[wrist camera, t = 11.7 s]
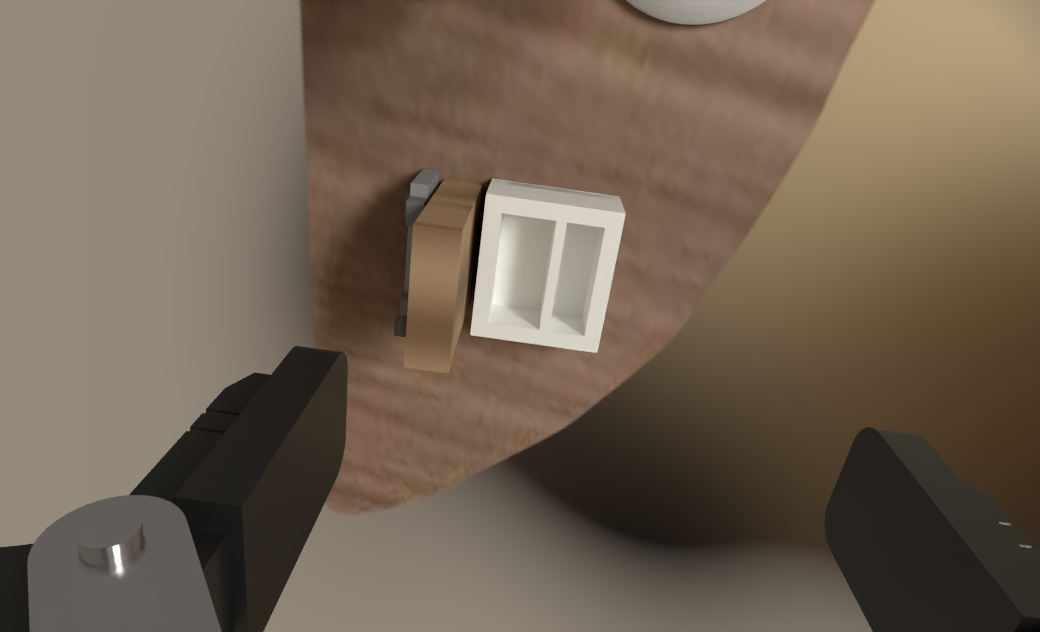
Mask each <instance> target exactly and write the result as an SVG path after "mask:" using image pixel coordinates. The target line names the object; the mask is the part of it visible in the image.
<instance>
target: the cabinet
mask: <svg viewBox="0 0 1040 632" xmlns="http://www.w3.org/2000/svg"><path fill="white" fill-rule="evenodd" d="M439 172H440V171H438V170H431V169H423V170H422V171H421V172H420V173H419V174H418V175H417V177H416V178H415V179H414V180H413V181H412V182H411V188H410V196H409V198H408V199H407V200H406V215H405V226H408V235H407V250H406V266H405V282H404V293H403V295H402V296H401V298H400V312H399V315H405V316H407V310H408V295H409V280H410V264H411V249H412V234H413V224H414V222H415V221H416V219H417V218H418V217H419V215H420V214H421V212H422V211H423V209H424V208H425V207H426V205H427V204H428V202H429V201H430V199H431V198H432V196H433V195H434V194H435V192H436V191H437V189H438V184H439ZM625 214H626V213H625V210H624V208H623V205H622V202H621V199H620V197H619V196H613V195H606V194H599V193H592V192H585V191H578V190H571V189H564V188H557V187H550V186H543V185H536V184H529V183H522V182H515V181H508V180H501V179H494V178H492V180H491V183H490V185H489V188H488V190H487V193H486V199H485V208H484V217H483V226H482V235H481V243H480V252H479V261H478V270H477V279H476V288H475V297H474V306H473V315H472V324H471V332H470V335H473V336H480V337H487V338H494V339H502V340H509V341H516V342H523V343H530V344H537V345H544V346H551V347H559V348H566V349H573V350H580V351H587V352H594V353H597V352H598V347H599V342H600V337H601V332H602V327H603V322H604V318H605V313H606V308H607V303H608V298H609V293H610V288H611V283H612V278H613V273H614V268H615V264H616V259H617V254H618V249H619V244H620V239H621V234H622V229H623V224H624V219H625Z"/></svg>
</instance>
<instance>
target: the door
mask: <svg viewBox="0 0 1040 632" xmlns="http://www.w3.org/2000/svg"><path fill="white" fill-rule="evenodd" d="M481 193H482V185H481V184H474V183H467V182H460V181H452V180H445V179H444V181H443V182H442V183H441V185H440V186H439V188H438V189H437V191H436V192H435V194H434V195H433V196H432V198H431V199H430V201H429V202H428V204H427V205H426V207H425V208H424V209H423V211H422V212H421V214H420V215H419V217H418V218H417V219H416V221H415V222H414V224H413V234H412V249H411V264H410V280H409V295H408V310H407V316H405V315H397V317H396V321H395V327H394V335H395V336H401V337H406V341H405V356H404V367H405V368H412V369H420V370H427V371H434V372H441V373H448V372H449V369H450V365H451V362H452V359H453V355H454V352H455V349H456V345H457V342H458V339H459V336H460V332H461V329H462V326H463V322H464V319H465V316H466V312H467V309H468V306H469V302H470V295H471V286H472V277H473V267H474V258H475V249H476V239H477V230H478V221H479V212H480V202H481Z"/></svg>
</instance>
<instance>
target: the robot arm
mask: <svg viewBox="0 0 1040 632" xmlns="http://www.w3.org/2000/svg"><path fill="white" fill-rule="evenodd" d="M347 374H348V364H347V357H346V354H345V353H343V352H336V351H329V350H322V349H315V348H307V347H300V346H295V347H294V348H293V349H292V350H291V351H290V352H289V353H288V355H287V356H286V357H285V358H284V359H283V361H282V362H281V363H280V364H279V366H278V367H277V368H276V369H275V371H274V372H273V373H272V374H271V375H268V374H260V373H253V374H251V375H249V376H247V377H245V378H243V379H242V380H240V381H238V382H236V383H234V384H232V385H230V386H228V387H226V388H225V389H224V390H223V391H222V392H221V393H220V394H219V395H218V397H217V398H216V399H215V400H214V401H213V402H212V403H211V404H210V405H209V407H208V408H207V409H206V413H205V414H204V413H202V414H201V415H200V417H199V418H198V419H197V420H196V421H195V422H194V423H193V425H192V426H191V427H190V431H189V432H188V431H186V432H185V433H184V434H183V436H182V437H181V438H180V439H179V440H178V441H177V442H176V444H174V446H173V447H172V448H171V449H170V450H169V451H168V452H167V453H166V454H165V456H164V457H163V458H162V459H161V460H160V461H159V462H158V463H157V465H156V466H155V467H154V468H153V469H152V470H151V471H150V472H149V473H148V474H147V476H146V477H145V478H144V479H143V480H142V481H141V482H140V484H138V486H137V487H136V488H135V489H134V490H133V491H132V492H131V493H130V495H126V496H117V497H113V498H108V499H103V500H100V501H96V502H93V503H90V504H87V505H85V506H82V507H80V508H78V509H76V510H74V511H72V512H70V513H68V514H66V515H65V516H63V517H61V518H60V519H58V520H57V521H55V522H54V523H53V524H51V525H50V526H49V527H48V528H47V529H46V530H45V531H44V532H43V533H42V534H41V535H40V536H39V537H38V538H37V540H36V541H35V543H34V544H28V545H20V546H10V547H0V632H263V631H264V629H265V627H266V625H267V623H268V621H269V618H270V616H271V614H272V612H273V610H274V608H275V606H276V604H277V602H278V599H279V597H280V595H281V593H282V591H283V589H284V587H285V585H286V583H287V581H288V579H289V577H290V574H291V572H292V570H293V568H294V566H295V564H296V562H297V560H298V558H299V555H300V553H301V551H302V549H303V547H304V545H305V543H306V541H307V539H308V537H309V535H310V533H311V531H312V528H313V526H314V524H315V522H316V520H317V518H318V516H319V514H320V512H321V509H322V507H323V505H324V503H325V501H326V499H327V497H328V495H329V493H330V491H331V489H332V487H333V484H334V482H335V480H336V478H337V476H338V473H339V470H340V467H341V463H342V459H343V454H344V448H345V440H346V410H347ZM825 535H826V540H827V543H828V546H829V548H830V550H831V552H832V554H833V556H834V558H835V560H836V562H837V564H838V565H839V567H840V569H841V571H842V573H843V575H844V577H845V579H846V581H847V583H848V585H849V586H850V589H851V590H852V592H853V594H854V596H855V598H856V600H857V602H858V604H859V606H860V607H861V610H862V611H863V613H864V615H865V617H866V619H867V621H868V623H869V625H870V627H871V629H872V631H873V632H1040V553H1039V552H1038V551H1036V550H1032V549H1031V544H1030V542H1029V541H1028V540H1027V539H1026V538H1025V537H1024V536H1023V535H1022V534H1021V533H1020V531H1018V529H1017V528H1015V527H1011V522H1010V520H1009V519H1008V518H1007V517H1006V516H1005V515H1004V514H1003V513H1002V512H1001V511H1000V509H999V508H998V507H997V506H996V505H995V504H994V503H993V502H992V501H991V500H990V498H989V497H988V496H986V495H985V494H984V493H982V492H981V491H980V490H978V489H977V488H975V487H974V486H973V485H971V484H970V483H968V482H967V481H966V480H964V479H963V478H961V477H960V476H958V475H957V474H956V473H955V472H954V471H953V470H952V469H951V467H950V466H949V465H948V464H947V463H946V462H945V461H944V460H943V458H942V457H941V456H940V455H939V454H938V453H937V452H936V450H935V449H934V448H933V447H932V446H931V445H930V444H929V443H928V441H926V439H925V438H924V437H922V436H921V435H918V434H914V433H907V432H899V431H893V430H885V429H878V428H871V427H867V428H864V429H863V430H861V431H860V432H859V433H858V434H857V436H856V437H855V440H854V442H853V444H852V446H851V449H850V451H849V454H848V456H847V459H846V461H845V463H844V466H843V469H842V471H841V473H840V476H839V478H838V480H837V483H836V485H835V488H834V490H833V493H832V495H831V497H830V500H829V503H828V505H827V509H826V513H825Z"/></svg>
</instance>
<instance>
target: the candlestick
mask: <svg viewBox="0 0 1040 632" xmlns="http://www.w3.org/2000/svg"><path fill="white" fill-rule="evenodd" d="M626 1H627V2H628V3H630V4H631V5H632V6H634V7H635V8H637V9H638V10H640V11H642V12H643V13H645V14H647V15H649V16H652V17H654V18H657V19H660V20H663V21H666V22H671V23H676V24H684V25H702V24H711V23H716V22H721V21H725V20H728V19H731V18H734V17H736V16H739V15H741V14H743V13H746V12H748V11H749V10H751V9H753V8H755V7H757V6H758V5H760V4H761V3H763V2H764V1H766V0H626Z"/></svg>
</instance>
